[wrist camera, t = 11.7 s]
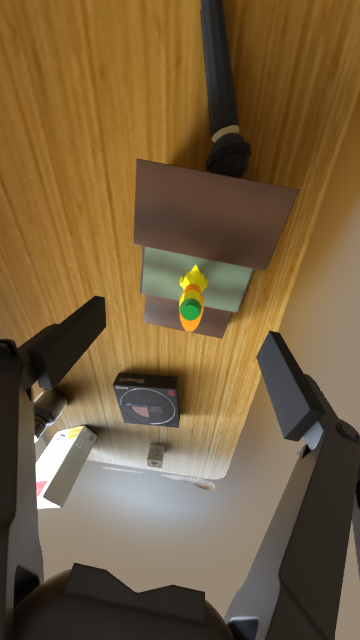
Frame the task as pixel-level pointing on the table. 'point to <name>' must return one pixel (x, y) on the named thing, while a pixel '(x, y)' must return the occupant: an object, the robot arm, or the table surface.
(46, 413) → the ink bottle
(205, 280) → the toy figure
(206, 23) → the microphone
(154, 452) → the dice cube
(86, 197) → the table surface
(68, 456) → the hard drive box
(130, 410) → the portable cd player
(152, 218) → the display shelf
